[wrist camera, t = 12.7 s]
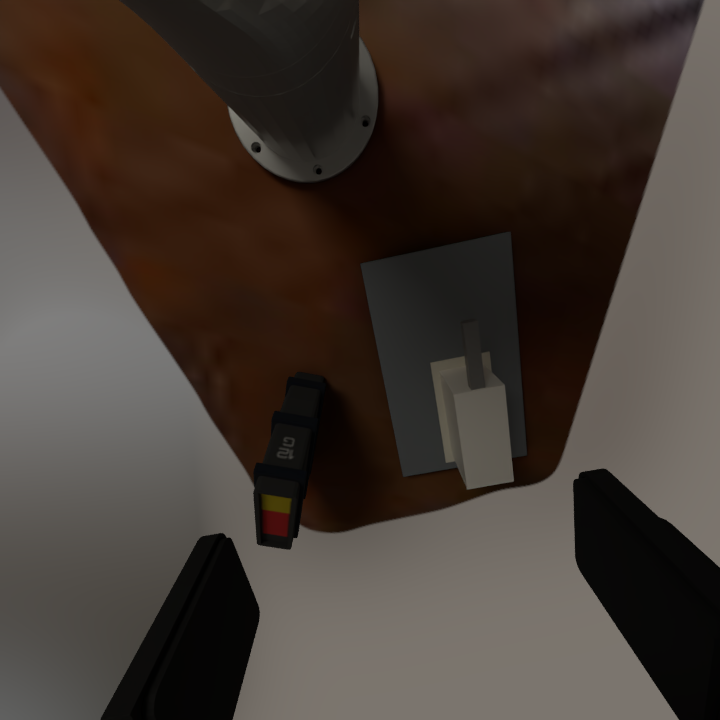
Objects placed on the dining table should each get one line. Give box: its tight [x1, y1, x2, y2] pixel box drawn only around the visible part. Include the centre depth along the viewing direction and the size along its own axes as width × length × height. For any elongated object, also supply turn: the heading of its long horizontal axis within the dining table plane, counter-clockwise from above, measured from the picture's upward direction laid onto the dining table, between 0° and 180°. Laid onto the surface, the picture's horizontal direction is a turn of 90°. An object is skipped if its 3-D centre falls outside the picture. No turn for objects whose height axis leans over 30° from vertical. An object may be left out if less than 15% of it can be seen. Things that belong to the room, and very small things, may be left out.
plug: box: [439, 318, 514, 489], centre depth 34 cm, size 16×4×6 cm, turn 12°
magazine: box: [253, 372, 326, 549], centre depth 35 cm, size 4×13×15 cm, turn 169°
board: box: [360, 232, 527, 477], centre depth 36 cm, size 24×14×5 cm, turn 12°
